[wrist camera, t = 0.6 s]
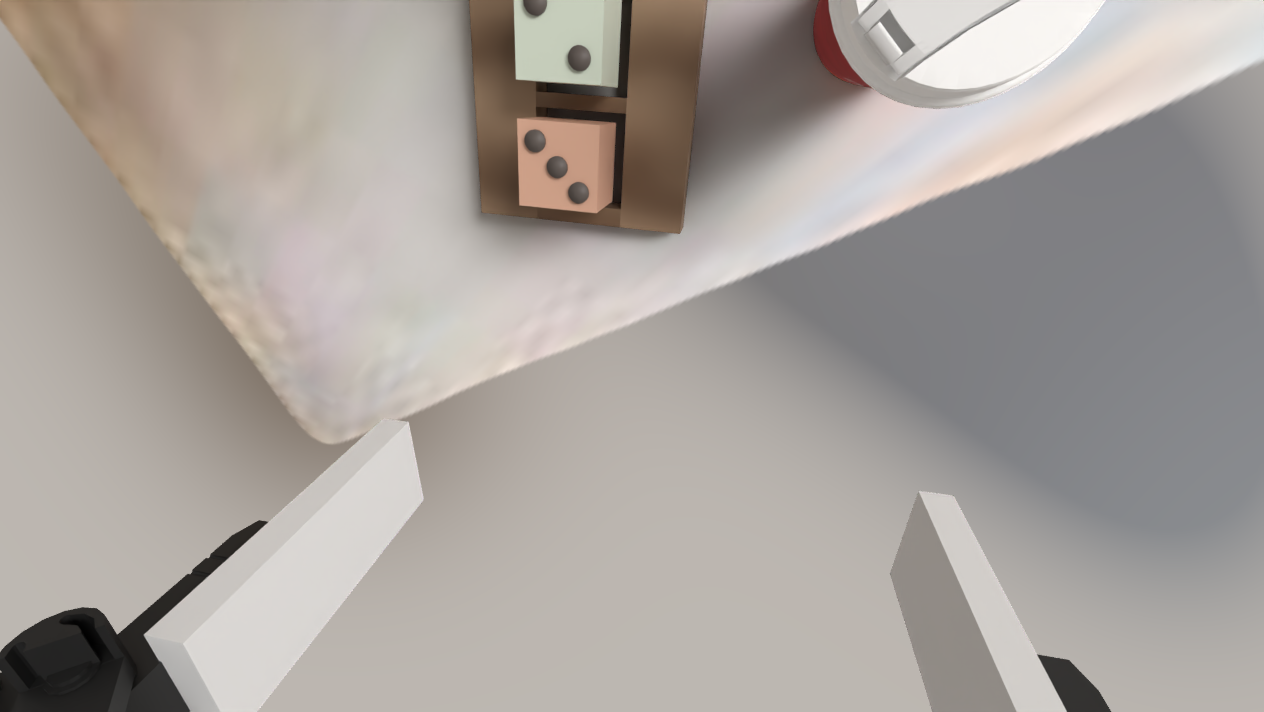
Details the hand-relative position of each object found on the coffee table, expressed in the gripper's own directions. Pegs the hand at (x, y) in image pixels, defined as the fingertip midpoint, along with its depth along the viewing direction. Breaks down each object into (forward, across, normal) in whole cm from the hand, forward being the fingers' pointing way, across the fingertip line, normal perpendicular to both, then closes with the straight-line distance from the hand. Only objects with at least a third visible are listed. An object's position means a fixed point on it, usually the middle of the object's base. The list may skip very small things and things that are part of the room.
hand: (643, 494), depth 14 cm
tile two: (+22, -7, +12) cm, 26 cm away
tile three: (+22, -8, +6) cm, 24 cm away
